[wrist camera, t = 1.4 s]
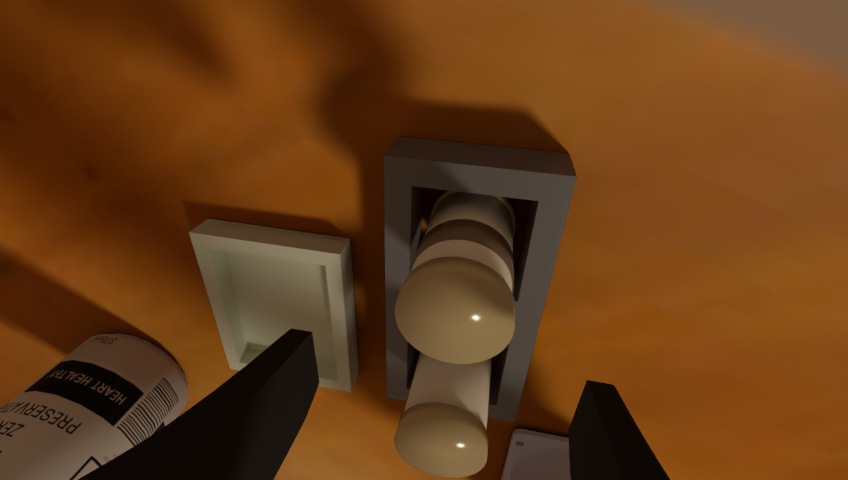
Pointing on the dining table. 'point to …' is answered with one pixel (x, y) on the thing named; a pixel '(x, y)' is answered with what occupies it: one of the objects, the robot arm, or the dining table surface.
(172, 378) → the supplement can
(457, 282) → the fuse
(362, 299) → the dining table surface
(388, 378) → the block
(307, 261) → the parts tray
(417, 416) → the cylinder
